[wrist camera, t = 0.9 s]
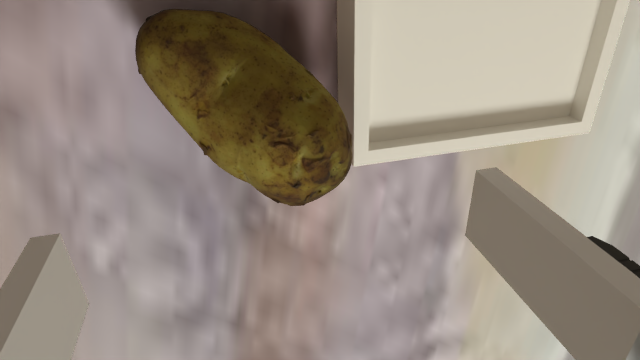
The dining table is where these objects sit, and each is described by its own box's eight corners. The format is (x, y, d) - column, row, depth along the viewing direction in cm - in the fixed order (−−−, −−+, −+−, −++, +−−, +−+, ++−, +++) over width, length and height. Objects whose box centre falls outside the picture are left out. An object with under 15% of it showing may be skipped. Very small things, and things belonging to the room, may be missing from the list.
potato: (244, -51, 24) (260, -47, 17) (346, 126, 30) (387, 180, 24) (122, 31, 24) (90, 67, 17) (249, 187, 31) (262, 257, 24)
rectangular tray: (334, -174, 22) (356, -192, 19) (627, -171, 25) (687, -187, 22) (338, 143, 31) (353, 166, 28) (554, 115, 34) (589, 133, 31)
